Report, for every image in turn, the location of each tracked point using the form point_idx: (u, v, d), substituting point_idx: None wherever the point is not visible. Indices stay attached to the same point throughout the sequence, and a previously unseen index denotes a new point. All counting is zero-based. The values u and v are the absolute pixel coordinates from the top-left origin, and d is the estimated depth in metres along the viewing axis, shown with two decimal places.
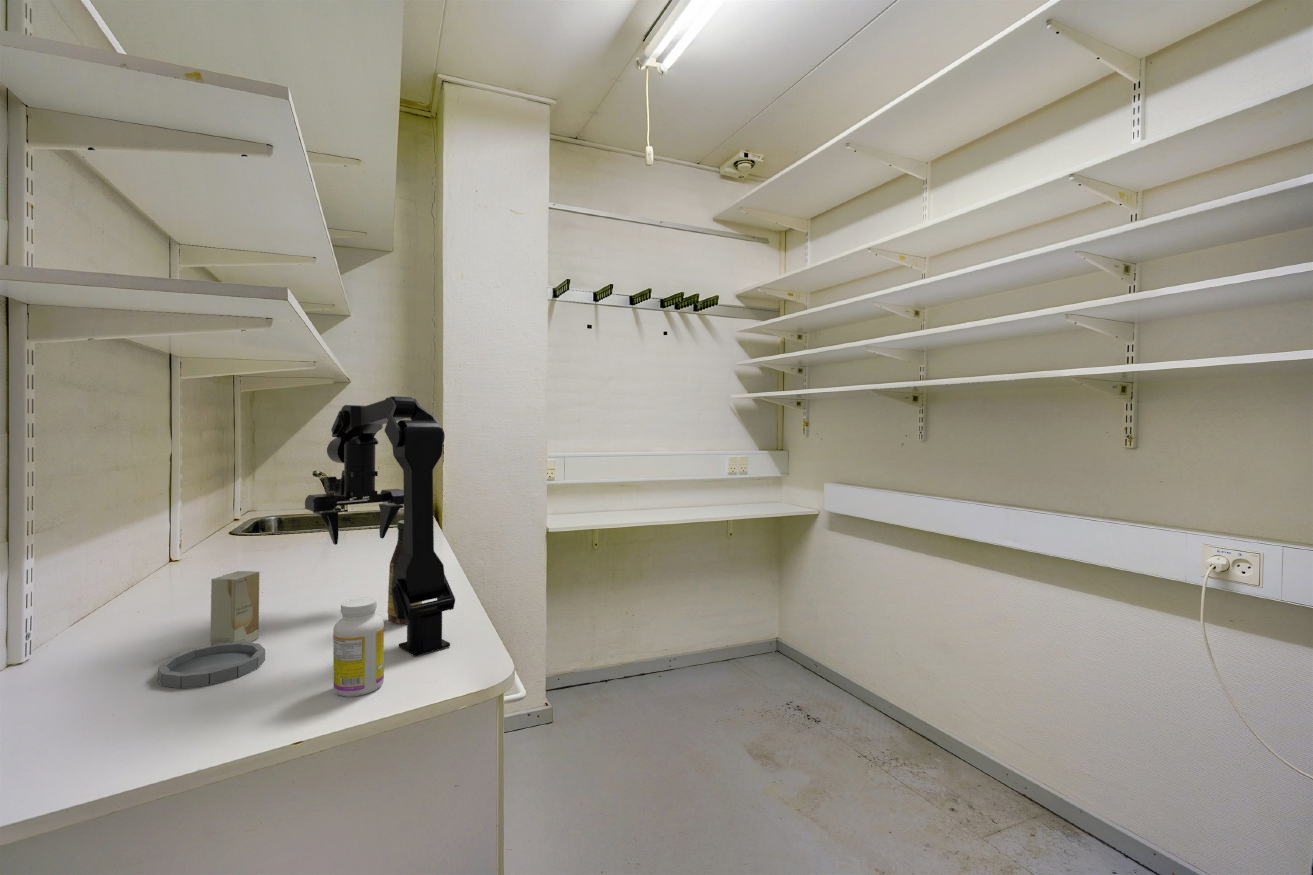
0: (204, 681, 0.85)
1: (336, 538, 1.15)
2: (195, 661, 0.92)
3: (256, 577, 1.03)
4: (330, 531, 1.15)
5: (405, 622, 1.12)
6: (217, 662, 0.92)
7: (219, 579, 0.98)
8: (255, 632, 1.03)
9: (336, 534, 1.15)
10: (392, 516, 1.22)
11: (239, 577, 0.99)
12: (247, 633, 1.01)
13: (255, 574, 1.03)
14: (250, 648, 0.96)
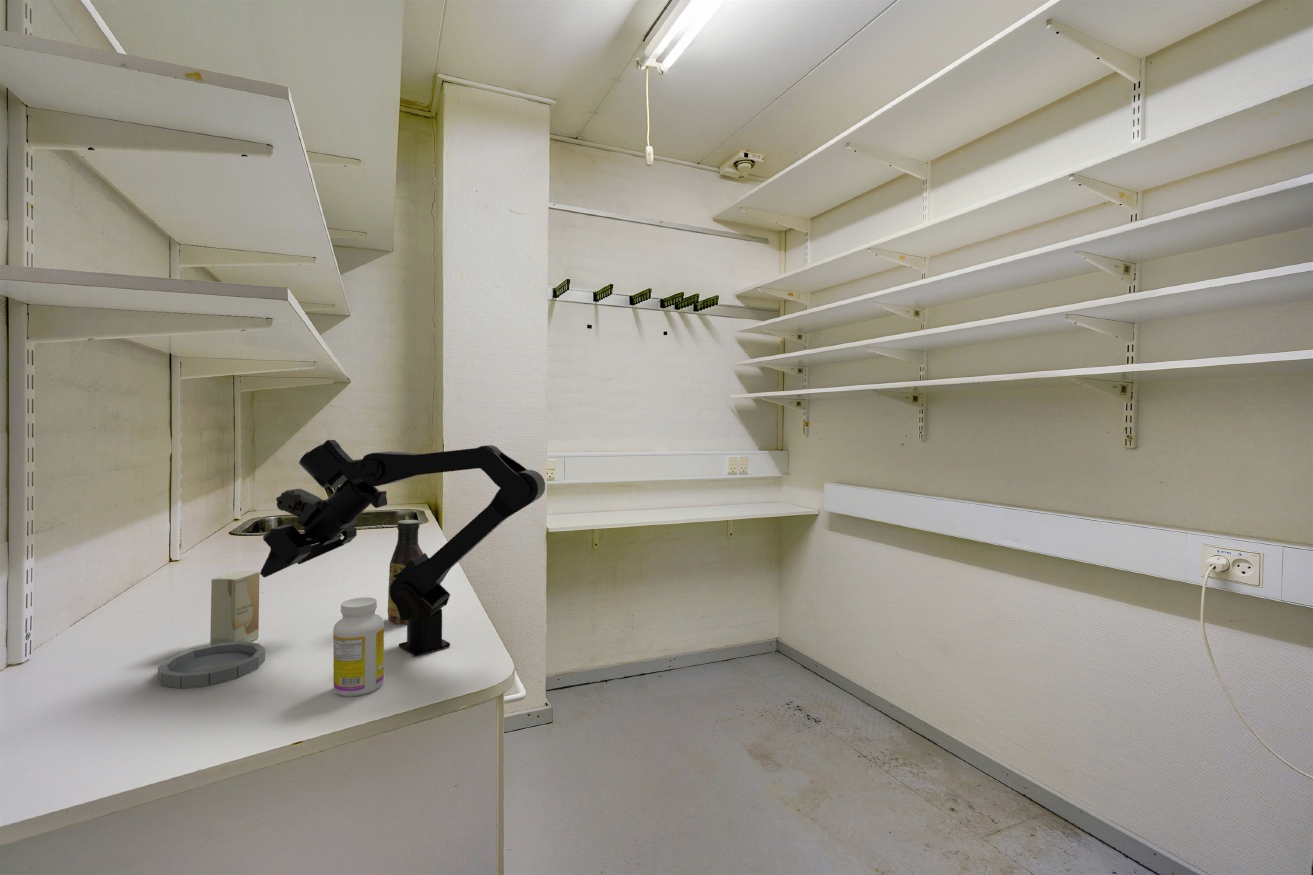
0: (204, 681, 0.85)
1: (271, 574, 0.96)
2: (195, 661, 0.92)
3: (256, 577, 1.03)
4: (270, 566, 0.95)
5: (405, 622, 1.12)
6: (217, 662, 0.92)
7: (219, 579, 0.98)
8: (255, 632, 1.03)
9: None
10: None
11: (239, 577, 0.99)
12: (247, 634, 1.01)
13: (255, 574, 1.03)
14: (250, 648, 0.96)
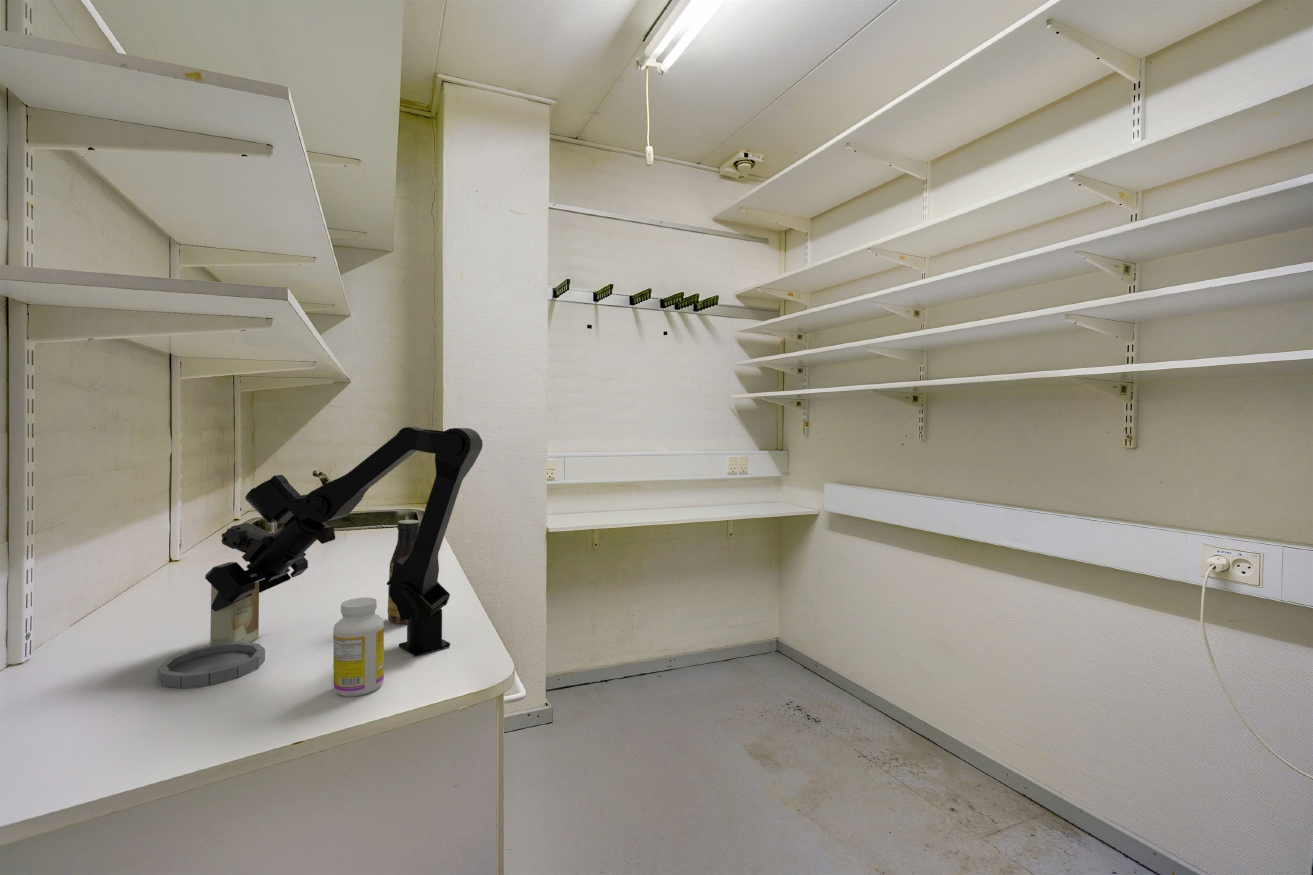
0: (204, 681, 0.85)
1: (222, 608, 0.98)
2: (195, 661, 0.92)
3: None
4: (221, 600, 0.97)
5: (405, 622, 1.12)
6: (217, 662, 0.92)
7: None
8: (255, 631, 1.03)
9: (226, 606, 0.97)
10: None
11: None
12: (247, 633, 1.01)
13: None
14: (250, 648, 0.96)
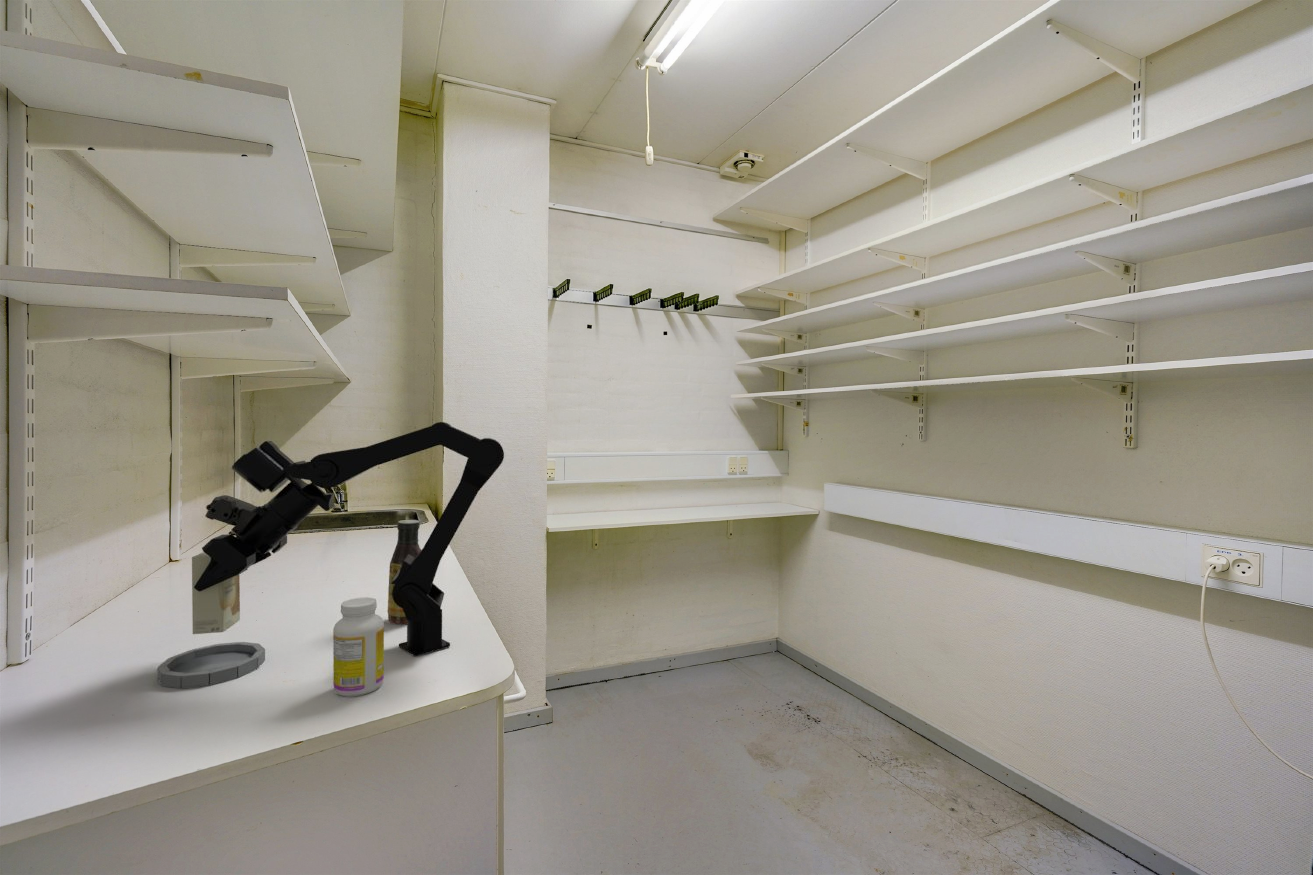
0: (204, 681, 0.85)
1: (208, 587, 0.89)
2: (195, 661, 0.92)
3: None
4: (209, 578, 0.88)
5: (405, 622, 1.12)
6: (217, 662, 0.92)
7: (202, 556, 0.89)
8: (237, 613, 0.95)
9: (214, 584, 0.89)
10: None
11: None
12: (232, 615, 0.93)
13: None
14: (250, 648, 0.96)
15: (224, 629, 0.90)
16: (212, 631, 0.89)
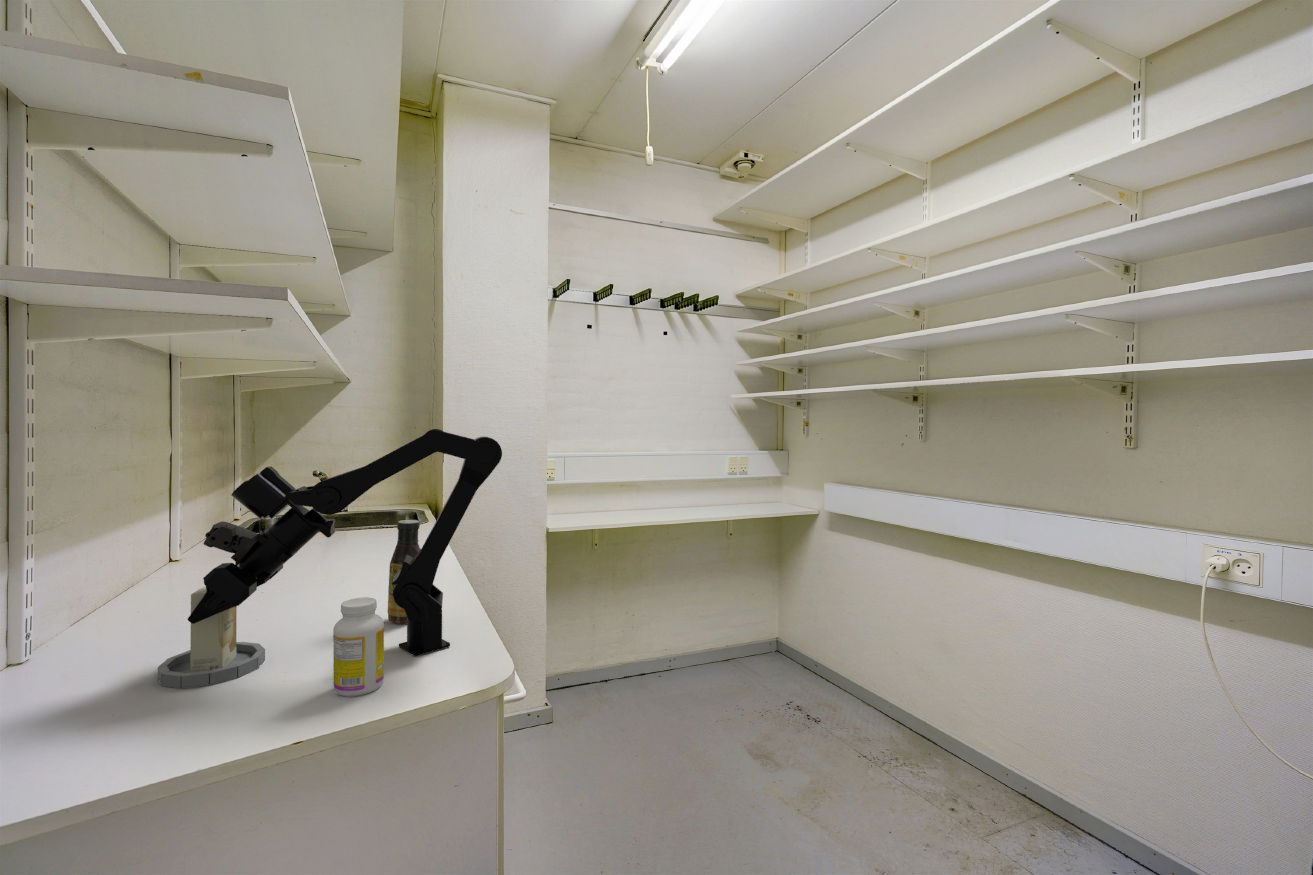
0: (204, 681, 0.85)
1: None
2: None
3: None
4: (204, 610, 0.85)
5: (405, 622, 1.12)
6: None
7: (201, 593, 0.88)
8: (234, 649, 0.93)
9: (209, 616, 0.86)
10: None
11: None
12: (230, 651, 0.91)
13: None
14: (250, 648, 0.96)
15: (223, 667, 0.89)
16: (211, 669, 0.88)
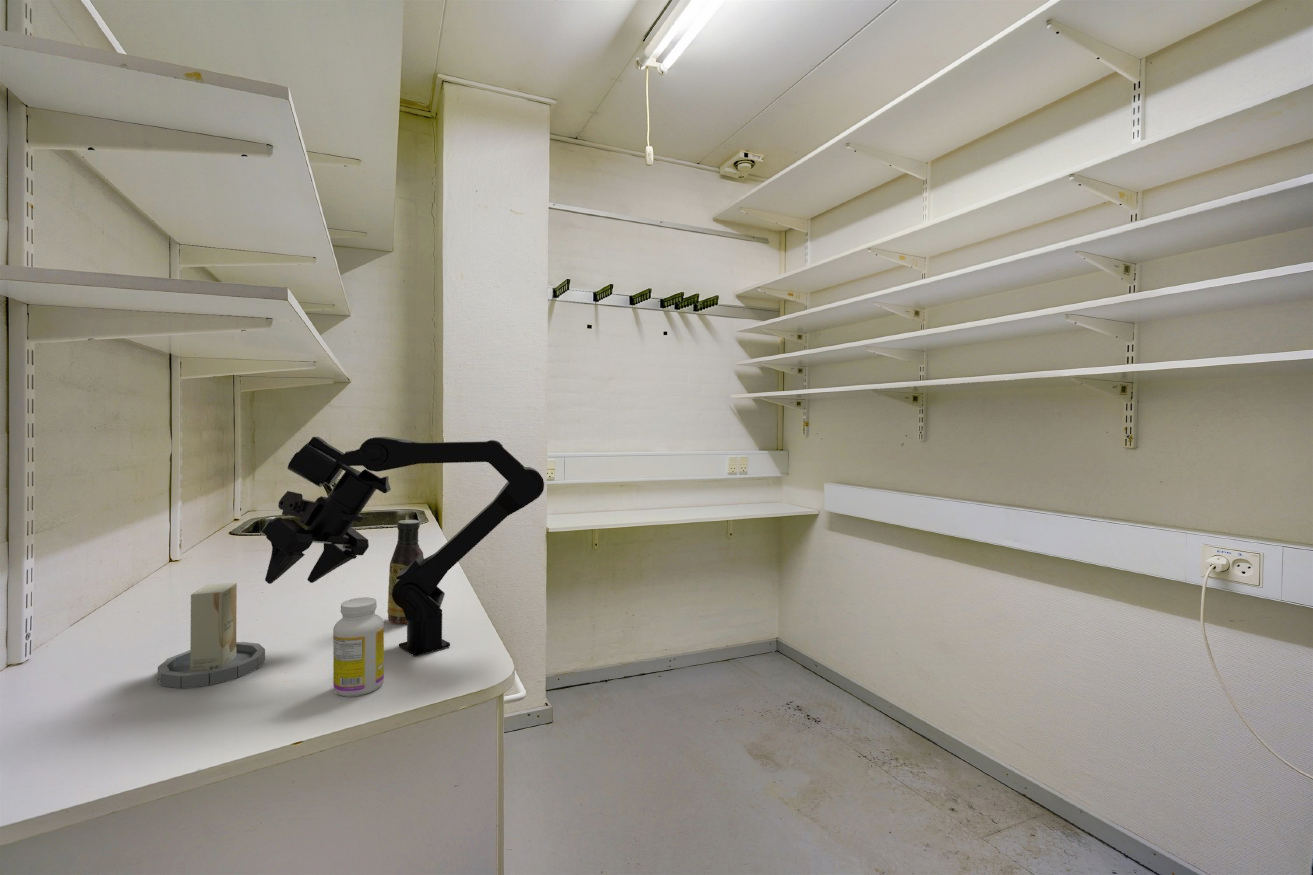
0: (204, 681, 0.85)
1: (276, 578, 0.91)
2: None
3: (235, 590, 0.93)
4: (274, 567, 0.90)
5: (405, 622, 1.12)
6: None
7: (201, 593, 0.88)
8: (234, 649, 0.93)
9: (280, 574, 0.90)
10: (340, 565, 1.01)
11: (224, 590, 0.90)
12: (230, 651, 0.91)
13: (234, 586, 0.93)
14: (250, 648, 0.96)
15: (223, 667, 0.89)
16: (211, 669, 0.88)
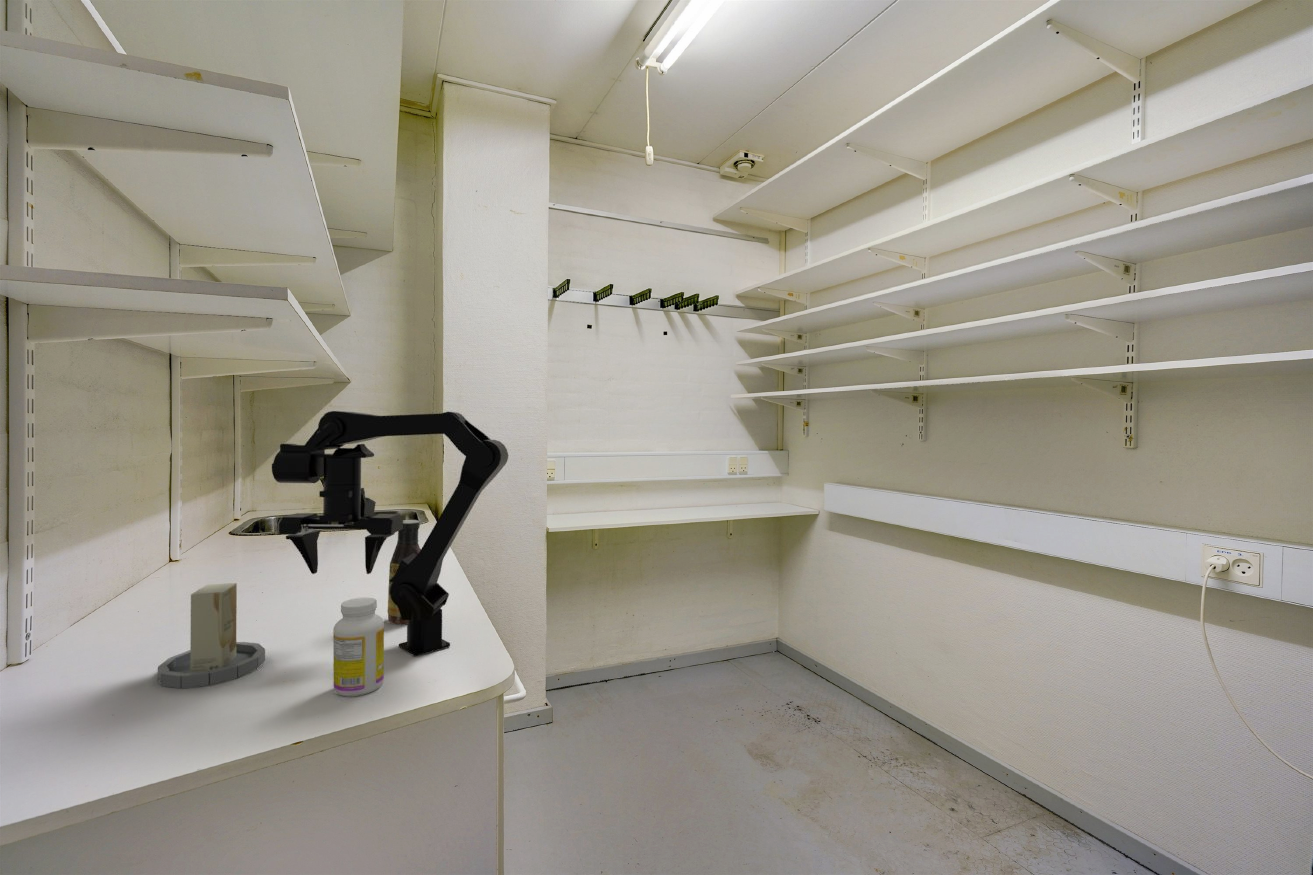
0: (204, 681, 0.85)
1: (310, 567, 0.99)
2: None
3: (235, 590, 0.93)
4: None
5: (405, 622, 1.12)
6: None
7: (201, 593, 0.88)
8: (234, 649, 0.93)
9: (308, 562, 0.98)
10: (370, 548, 0.98)
11: (224, 590, 0.90)
12: (230, 651, 0.91)
13: (234, 586, 0.93)
14: (250, 648, 0.96)
15: (223, 667, 0.89)
16: (211, 669, 0.88)
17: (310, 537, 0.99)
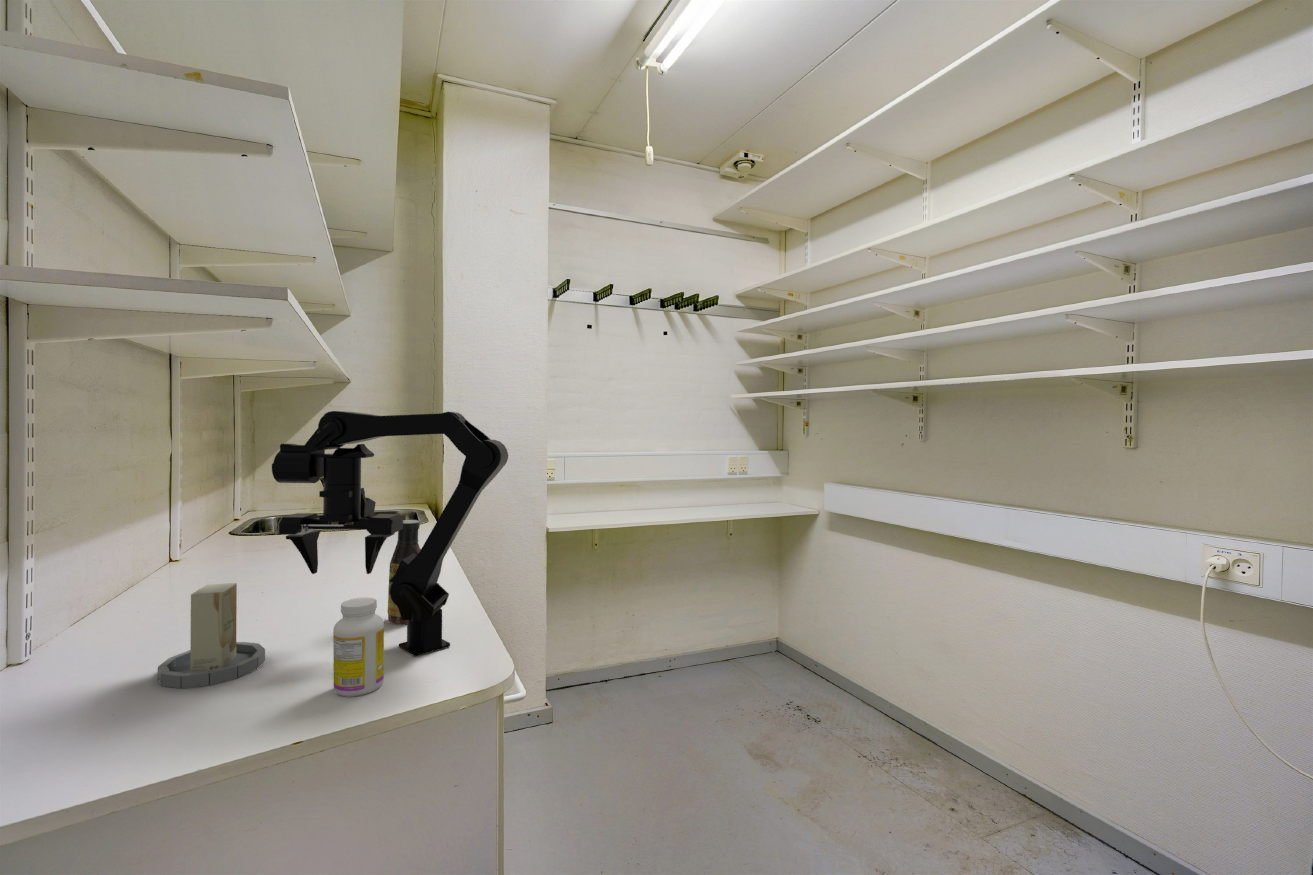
0: (204, 681, 0.85)
1: (310, 567, 0.99)
2: None
3: (235, 590, 0.93)
4: None
5: (405, 622, 1.12)
6: None
7: (201, 593, 0.88)
8: (234, 649, 0.93)
9: (308, 562, 0.98)
10: (370, 548, 0.98)
11: (224, 590, 0.90)
12: (230, 651, 0.91)
13: (234, 586, 0.93)
14: (250, 648, 0.96)
15: (223, 667, 0.89)
16: (211, 669, 0.88)
17: (310, 538, 0.99)
